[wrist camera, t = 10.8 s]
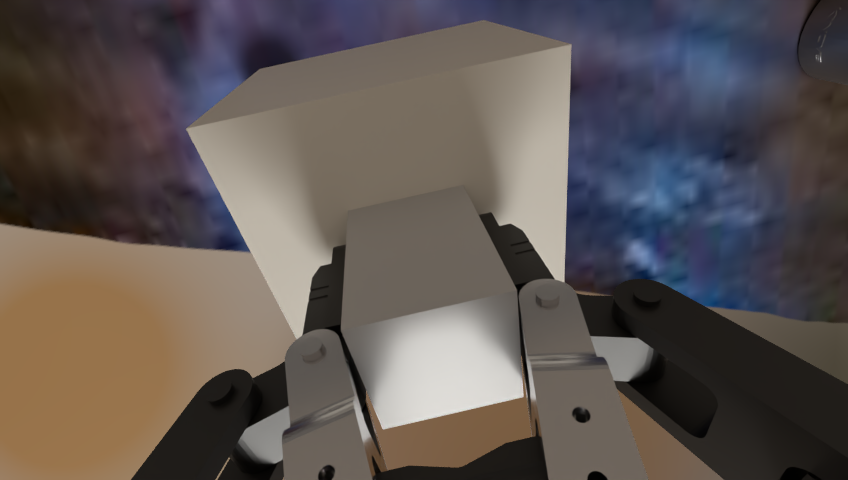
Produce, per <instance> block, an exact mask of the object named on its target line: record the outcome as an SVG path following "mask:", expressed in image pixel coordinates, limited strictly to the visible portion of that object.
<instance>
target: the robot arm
mask: <svg viewBox="0 0 848 480" xmlns="http://www.w3.org/2000/svg"><path fill="white" fill-rule="evenodd" d="M798 58H799V62H800V66H801V67H802V69H803V70H804V72H805V73H807V74H808V75H809V76H811V77H814V78H817V79H822V80H826V81H831V82H836V83H840V84H845V85H848V0H821V1H820V2H819V3H818V5H817V6H816V7H815V9H814V10H813V12H812V14H811V15H810V17H809V19H808V21H807V22H806V25H805V27H804V30H803V32H802V34H801V38H800V43H799V50H798ZM479 217H480V219H481V221H482V223H483V225H484V227H485V229H486V231H487V233H488V234H489V236H490V238H491V240H492V242H493V244H494V246H495V248H496V250H497V252H498V254H499V256H500V258H501V260H502V262H503V264H504V266H505V268H506V270H507V272H508V274H509V276H510V277H511V279H512V281H513V283H514V285H515V287H516V289H517V298H518V315H519V332H520V349H521V356H522V363H523V374H524V381H525V389H526V396H527V403H528V411H529V419H530V426H531V434H532V437H530V438H526V439H522V440H517V441H513V442H509V443H505V444H504V445H502V446H500V447H498V448H496V449H494V450H493V451H491V452H489V453H487V454H485V455H483V456H482V457H480V458H478V459H476V460H474V461H472V462H471V463H469V464H467V465H465V466H463V467H459V468H450V467H428V466H406V467H402V468H397V469H393V470H389V471H388V470H387V467H386V464H385V460H384V457H383V453H382V450H381V447H380V443H379V440H378V436H377V433H376V430H375V426H374V422H373V419H372V416H371V412H370V409H369V405H368V403H367V400H366V388H365V386H364V384H363V381H362V379H361V377H360V374H359V372H358V370H357V367H356V365H355V363H354V360H353V358H352V356H351V353H350V351H349V349H348V346H347V344H346V342H345V339H344V337H343V335H342V332H341V317H342V301H343V284H344V268H345V251H346V244H345V245H341V246H336V247H333V253H332V262H331V264H327V265H323V266H320V267H319V269H318V270H317V272H316V273H315V274H314V276H313V277H312V281H311V287H310V291H311V292H310V293H309V302H308V305H307V311H306V316H305V322H304V328H303V334H302V336H301V337H299V338H298V339H297V340H296V341H295V342H294V343H293V344H292V345H291V346H290V347H289V349H288V351H287V353H286V356H285V362H283V363H282V364H280V365H278V366H277V367H275V368H273V369H271V370H269V371H267V372H265V373H263V374H261V375H259V376H257V377H255V378H252V377H251V375H250V374H249V373H248V372H247V371H245V370H241V369H234V370H229V371H225V372H223V373H221V374H219V375H217V376H215V377H214V378H212V379H211V380H209V381H208V382H207V383H206V384H205V385H204V386H203V387H202V388H201V389H200V390H199V391H198V392H197V394H196V395H195V396H194V398H193V399H192V400H191V402H190V403H189V404H188V405H187V407H186V408H185V409H184V411H183V412H182V413H181V415H180V416H179V417H178V419H177V420H176V421H175V423H174V424H173V425H172V427H171V428H170V429H169V431H168V432H167V433H166V434H165V436H164V437H163V439H162V440H161V441H160V442H159V444H158V445H157V446H156V448H155V449H154V451H153V452H152V453H151V454H150V455H149V457H148V458H147V459H146V461H145V462H144V463H143V465H142V466H141V467H140V469H139V470H138V471H137V473H136V474H135V475H134V477H133V478H132V479H131V480H215V479H216V478H217V476H218V474H219V473H220V471H221V469H222V467H223V466H224V464H225V462H226V461H227V459H228V458H230V460H229V461H228V463H227V465H226V467H225V468H224V470H223V471H222V473H221V475H220V477H219V478H218V480H282V479H283V477H284V480H648V477H647V474H646V471H645V468H644V466H643V463H642V460H641V457H640V454H639V452H638V448H637V445H636V443H635V440H634V437H633V434H632V431H631V428H630V425H629V423H628V420H627V417H626V414H625V411H624V408H623V405H622V402H621V400H620V397H619V394H618V391H617V389H618V390H619V391H620V392H621V393H623V394H624V395H625V396H626V397H627V398H629V399H630V400H631V401H632V402H633V403H634V404H636V405H637V406H638V407H639V408H640V409H641V410H643V411H644V412H645V413H646V414H647V415H649V416H650V417H651V418H652V419H653V420H654V421H656V422H657V423H658V424H659V425H660V426H662V427H663V428H664V429H665V430H666V431H668V432H669V433H670V434H671V435H672V436H674V438H676V439H677V440H678V441H679V442H681V443H682V444H683V445H684V446H685V447H686V448H687V449H689V450H690V451H691V452H692V453H693V454H695V455H696V456H697V457H698V458H699V459H701V460H702V461H703V462H704V463H705V464H706V465H708V466H709V467H710V468H711V469H712V470H714V471H715V472H716V473H717V474H718V475H720V476H721V477H722V478H723V479H724V480H848V384H846V383H844V382H843V381H840V380H839V379H837V378H835V377H833V376H832V375H829V374H828V373H826V372H824V371H822V370H820V369H819V368H817V367H815V366H813V365H811V364H810V363H807V362H806V361H804V360H802V359H800V358H798V357H796V356H795V355H793V354H791V353H789V352H787V351H786V350H784V349H782V348H780V347H778V346H776V345H775V344H773V343H771V342H769V341H767V340H765V339H764V338H762V337H760V336H758V335H756V334H754V333H753V332H751V331H749V330H747V329H745V328H743V327H741V326H740V325H738V324H736V323H734V322H732V321H731V320H729V319H727V318H725V317H723V316H721V315H719V314H717V313H716V312H714V311H712V310H710V309H708V308H707V307H705V306H703V305H701V304H699V303H697V302H696V301H694V300H692V299H690V298H688V297H686V296H685V295H683V294H681V293H679V292H677V291H675V290H674V289H672V288H670V287H668V286H666V285H664V284H662V283H659V282H656V281H652V280H647V279H633V280H628V281H625V282H623V283H621V284H620V285H618V286H617V287H616V289H615V291H614V296H590V295H581V294H577V293H576V292H575V291H574V290H573V288H572V287H570V286H569V285H568V284H566V283H564V282H562V281H559V280H555V278H554V277H553V275H552V274H551V272H550V271H549V269H548V268H547V266H546V265H545V263H544V262H543V260H542V259H541V257H540V256H539V254H538V253H537V251H535V248H534V247H533V245H532V244H531V242H529V239H528V238H527V236H526V235H525V233H524V232H523V230H521V229H519V228H518V227H516V226H514V225H512V224H506V225H502V226H499V224H498V223H497V221H496V219H495V217H494V216H493V214H492V213H491V212H489V213H485V214H480V215H479Z"/></svg>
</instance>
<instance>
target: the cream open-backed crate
mask: <svg viewBox="0 0 848 480" xmlns="http://www.w3.org/2000/svg"><path fill="white" fill-rule="evenodd" d="M570 72H571V44H568V43H565V42H561V41H557V40H554V39H550V38H547V37H543V36H539V35H536V34H532V33H528V32H525V31H521V30H518V29H514V28H510V27H507V26H503V25H499V24H496V23H492V22H489V21H485V20H482V21H478V22H473V23H468V24H464V25H459V26H455V27H450V28H445V29H441V30H436V31H432V32H427V33H422V34H418V35H413V36H409V37H404V38H399V39H395V40H390V41H386V42H381V43H377V44H372V45H367V46H363V47H358V48H354V49H349V50H344V51H340V52H335V53H331V54H326V55H321V56H317V57H312V58H308V59H303V60H298V61H294V62H289V63H285V64H280V65H275V66H271V67H266V68H262V69H259V70H258V71H257V72H255V73H254V74H253V75H252V76H250V77H249V78H248V79H247V80H246V81H244V82H243V83H242V84H241V85H239V86H238V87H237V88H236V89H234V90H233V91H232V92H231V93H229V94H228V95H227V96H226V97H225V98H223V99H222V100H221V101H220V102H218V103H217V104H216V105H215V106H213V107H212V108H211V109H210V110H209V111H207V112H206V113H205V114H204V115H202V116H201V117H200V118H199V119H197V120H196V121H195V122H194V123H192V124H191V125H190V126H189V127H188V128H186V130H187V132H188V134H189V135H190V137H191V139H192V141H193V143H194V145H195V147H196V149H197V151H198V152H199V154H200V156H201V158H202V160H203V162H204V164H205V166H206V168H207V170H208V171H209V173H210V175H211V177H212V179H213V181H214V183H215V185H216V187H217V189H218V190H219V192H220V194H221V196H222V198H223V200H224V202H225V204H226V206H227V208H228V209H229V211H230V213H231V215H232V217H233V219H234V221H235V223H236V225H237V227H238V228H239V230H240V232H241V234H242V236H243V238H244V240H245V242H246V244H247V246H248V247H249V249H250V251H251V253H252V255H253V257H254V259H255V261H256V263H257V265H258V266H259V268H260V270H261V272H262V274H263V276H264V278H265V280H266V282H267V284H268V285H269V287H270V289H271V291H272V293H273V295H274V297H275V299H276V301H277V302H278V304H279V306H280V308H281V310H282V312H283V314H284V316H285V318H286V319H287V321H288V323H289V325H290V327H291V329H292V331H293V333H294V335H295V337H296V339H298V338H299V337H301V336H302V334H303V328H304V322H305V316H306V311H307V305H308V302H309V293H310V292H311V291H310V287H311V281H312V277H313V276H314V274H315V273H316V272H317V270H318V269H319V267H320V266H323V265H327V264H331V262H332V253H333V247H336V246H341V245H345V244H346V251H345V268H344V284H343V301H342V317H341V332H342V335H343V337H344V339H345V342H346V344H347V346H348V349H349V351H350V353H351V356H352V358H353V360H354V363H355V365H356V367H357V370H358V372H359V374H360V377H361V379H362V381H363V384H364V386H365V388H366V391H367V393H368V395H369V398H370V400H371V402H372V405H373V407H374V410H375V412H376V414H377V417H378V419H379V421H380V424H381V426H382V428H383V429H387V428H391V427H396V426H400V425H404V424H409V423H413V422H417V421H422V420H426V419H430V418H435V417H439V416H443V415H448V414H451V413H456V412H461V411H465V410H469V409H473V408H478V407H482V406H487V405H491V404H495V403H500V402H504V401H508V400H512V399H516V398H521V397H523V382H522V368H521V367H522V366H521V349H520V332H519V315H518V298H517V289H516V287H515V285H514V283H513V281H512V279H511V277H510V276H509V274H508V272H507V270H506V268H505V266H504V264H503V262H502V260H501V258H500V256H499V254H498V252H497V250H496V248H495V246H494V244H493V242H492V240H491V238H490V236H489V234H488V233H487V231H486V229H485V227H484V225H483V223H482V221H481V219H480V217H479V215H480V214H485V213H489V212H491V213H492V214H493V216H494V217H495V219H496V221H497V223H498V224H499V226H502V225H506V224H512V225H514V226H516V227H518V228H519V229H521V230H523V232H524V233H525V235H526V236H527V238H528V239H529V242H531V244H532V245H533V247H534V248H535V251H537V253H538V254H539V256H540V257H541V259H542V260H543V262H544V263H545V265H546V266H547V268H548V269H549V271H550V272H551V274H552V275H553V277H554V278H555V280H559V281H562V282H564V272H565V239H566V205H567V172H568V138H569V105H570Z"/></svg>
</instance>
